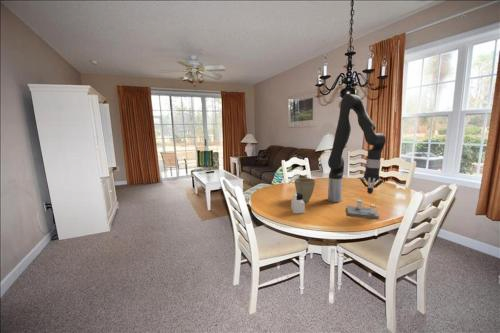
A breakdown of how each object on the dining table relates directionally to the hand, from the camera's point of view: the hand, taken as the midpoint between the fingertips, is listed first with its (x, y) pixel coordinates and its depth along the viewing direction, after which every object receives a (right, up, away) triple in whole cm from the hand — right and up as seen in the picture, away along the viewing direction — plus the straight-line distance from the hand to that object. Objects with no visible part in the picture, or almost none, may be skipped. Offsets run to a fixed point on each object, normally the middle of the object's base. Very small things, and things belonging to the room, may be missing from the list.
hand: (369, 193), depth 134 cm
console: (-4, -12, +1) cm, 13 cm away
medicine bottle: (-44, -13, +6) cm, 46 cm away
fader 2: (-1, -11, -5) cm, 12 cm away
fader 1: (-5, -10, +4) cm, 12 cm away
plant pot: (-34, -9, +27) cm, 44 cm away
